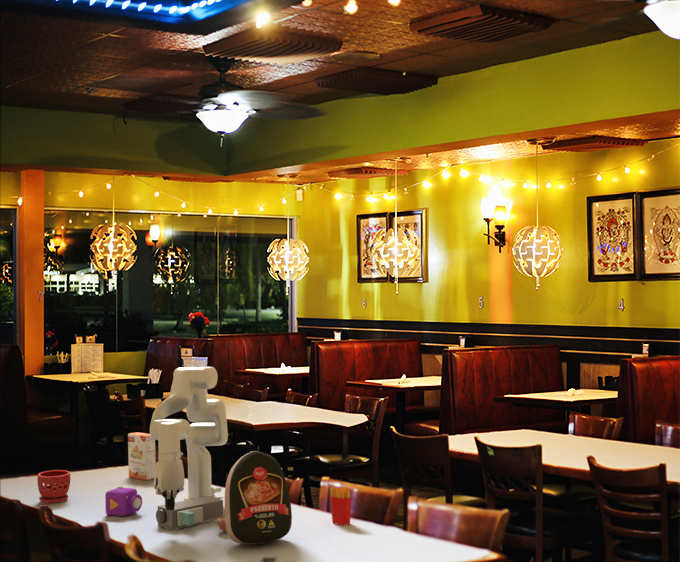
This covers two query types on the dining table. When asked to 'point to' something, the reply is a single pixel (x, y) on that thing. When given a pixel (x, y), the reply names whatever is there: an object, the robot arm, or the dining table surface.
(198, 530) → the dining table surface
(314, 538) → the dining table surface
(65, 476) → the plant pot
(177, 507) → the camera housing
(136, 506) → the toy camera
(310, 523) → the dining table surface
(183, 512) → the side door
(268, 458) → the packaged food
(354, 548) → the dining table surface
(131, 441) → the cracker box
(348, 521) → the french fries
